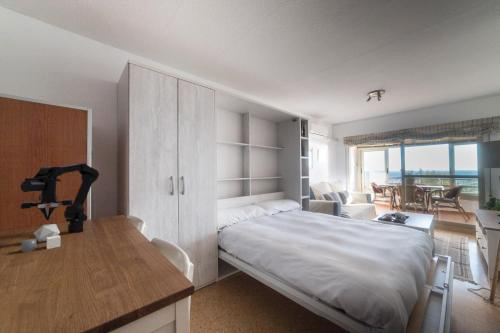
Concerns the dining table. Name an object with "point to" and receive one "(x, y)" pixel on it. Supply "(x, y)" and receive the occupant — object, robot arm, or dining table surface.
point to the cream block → (53, 242)
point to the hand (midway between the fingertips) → (47, 220)
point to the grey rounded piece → (29, 245)
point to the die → (46, 232)
